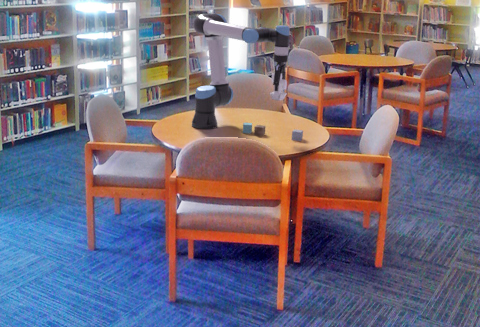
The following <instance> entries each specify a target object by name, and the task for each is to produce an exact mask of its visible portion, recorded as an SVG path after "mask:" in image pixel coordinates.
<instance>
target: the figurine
mask: <svg viewBox="0 0 480 327" xmlns="http://www.w3.org/2000/svg"><path fill="white" fill-rule="evenodd" d="M274 74H275V72H272V74H271V83H272V84H273V83H274ZM281 84H283V92H281ZM287 85H288V81H287V79H285V80H283V79H282V74H281V76H280V81H279V97H274V91H272V92H269V95H270V97H271V98H272V100H273V101H283V100H284V99H285V98H286V96H287V95H288V93H287V92H284V90H285V91H286V90H287V89H288V88H287V87H288V86H287Z"/></svg>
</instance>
